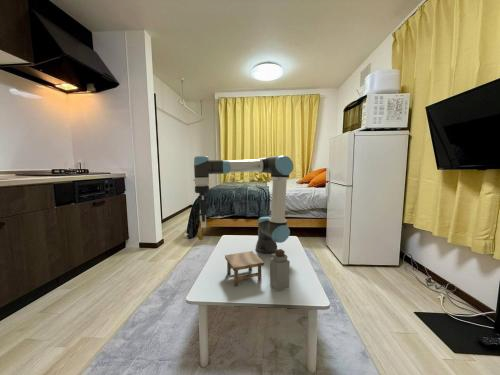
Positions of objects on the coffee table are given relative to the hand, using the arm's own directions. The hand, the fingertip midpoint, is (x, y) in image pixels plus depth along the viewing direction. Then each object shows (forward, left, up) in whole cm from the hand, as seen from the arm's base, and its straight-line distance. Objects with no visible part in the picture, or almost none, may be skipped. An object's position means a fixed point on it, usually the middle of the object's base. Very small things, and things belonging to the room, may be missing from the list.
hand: (203, 224), depth 120 cm
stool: (-18, +14, -27) cm, 36 cm away
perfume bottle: (-31, +29, -27) cm, 51 cm away
